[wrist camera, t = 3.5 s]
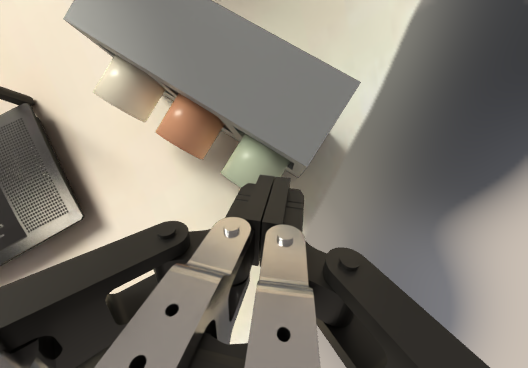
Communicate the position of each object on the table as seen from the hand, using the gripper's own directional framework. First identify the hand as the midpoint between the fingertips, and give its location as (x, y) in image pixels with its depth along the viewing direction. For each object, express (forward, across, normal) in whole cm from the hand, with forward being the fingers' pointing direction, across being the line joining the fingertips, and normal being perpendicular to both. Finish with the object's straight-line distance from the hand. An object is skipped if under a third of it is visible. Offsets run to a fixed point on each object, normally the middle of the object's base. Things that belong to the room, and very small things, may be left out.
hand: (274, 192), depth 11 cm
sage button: (+12, -3, -4) cm, 13 cm away
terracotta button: (+13, -10, -2) cm, 16 cm away
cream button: (+15, -16, +1) cm, 22 cm away
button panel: (+20, -8, -1) cm, 22 cm away
